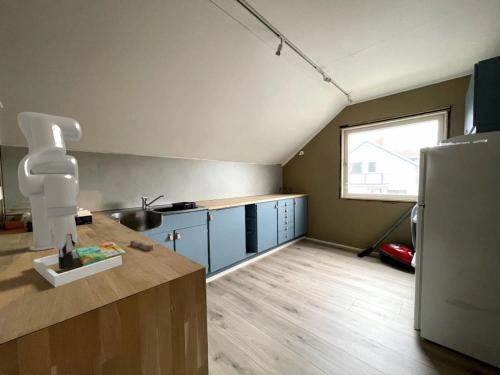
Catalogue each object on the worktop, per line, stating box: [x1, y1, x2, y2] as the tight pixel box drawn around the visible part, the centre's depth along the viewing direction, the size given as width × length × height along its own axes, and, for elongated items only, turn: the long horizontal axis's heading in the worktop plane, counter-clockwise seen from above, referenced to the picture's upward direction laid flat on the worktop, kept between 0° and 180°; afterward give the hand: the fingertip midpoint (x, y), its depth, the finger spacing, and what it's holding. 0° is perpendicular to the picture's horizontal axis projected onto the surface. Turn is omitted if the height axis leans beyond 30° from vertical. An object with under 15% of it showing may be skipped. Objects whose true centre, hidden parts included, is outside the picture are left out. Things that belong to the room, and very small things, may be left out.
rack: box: [33, 249, 123, 288], centre depth 70 cm, size 24×17×3 cm
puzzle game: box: [75, 241, 127, 267], centre depth 75 cm, size 12×5×20 cm
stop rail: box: [129, 239, 154, 252], centre depth 87 cm, size 16×1×2 cm, turn 56°
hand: (66, 267), depth 67 cm, fingers closed
